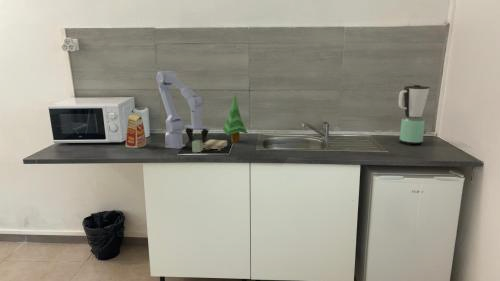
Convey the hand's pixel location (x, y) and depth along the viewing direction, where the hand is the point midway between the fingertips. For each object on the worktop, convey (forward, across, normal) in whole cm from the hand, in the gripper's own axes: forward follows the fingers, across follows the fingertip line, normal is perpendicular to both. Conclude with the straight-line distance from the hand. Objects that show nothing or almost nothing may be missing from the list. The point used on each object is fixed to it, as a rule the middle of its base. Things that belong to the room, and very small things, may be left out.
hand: (197, 142), depth 203 cm
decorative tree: (+6, +13, +27) cm, 30 cm away
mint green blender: (+6, +116, +54) cm, 128 cm away
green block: (+5, 0, 0) cm, 5 cm away
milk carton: (+5, -40, +1) cm, 40 cm away
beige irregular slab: (+5, +6, +11) cm, 14 cm away
